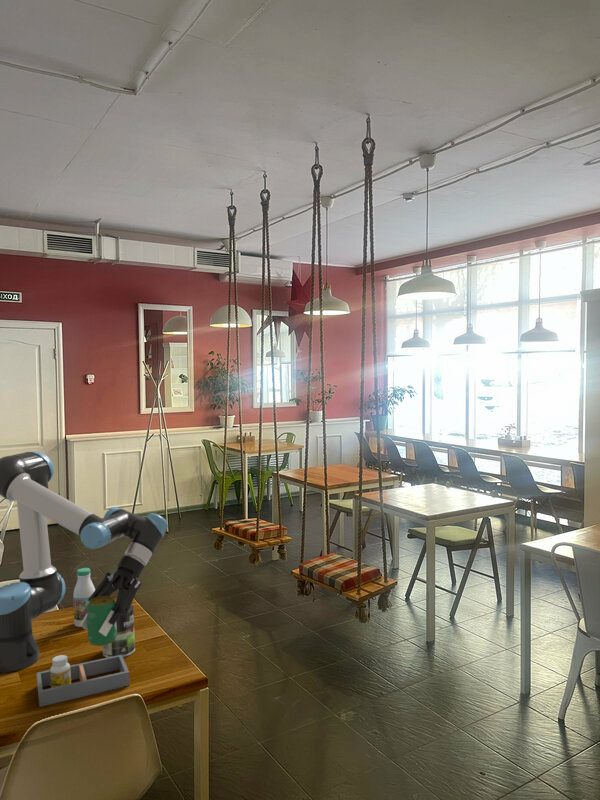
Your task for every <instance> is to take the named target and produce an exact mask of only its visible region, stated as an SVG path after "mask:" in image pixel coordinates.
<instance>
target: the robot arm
mask: <svg viewBox="0 0 600 800" xmlns="http://www.w3.org/2000/svg"><path fill="white" fill-rule="evenodd" d="M54 473H55V468H54V464H53V462H52V460H51V459H50V457H49V456H47V455H46V454H45V453H43V452H40V451H26V452H21V453H16V454H12V455H6V456H2V457H0V497H3V498H4V499H5V500H8V501H9V502H15V501H16V507H17V517H18V525H19V536H20V546H21V547H20V548H21V556H22V557H21V558H22V566H23V570H22V572H20V574H19V577H18V578H19V582H17V581H16V582H12V583H10V584H4V585H3V586H1V587H0V673H10V672H16V671H20V670H22V669H25V668H27V667H29V666H32V665H34V664H35V663H36V662H37V661H38V660H39V659H40V648H39V645H38V644H37V641H36V638H35V636H34V634H33V633H34V632H33V620H34V619H36V618H38V617H39V616H41V615H43V614H44V613H47V612H48V611H50V610H52V609H54V608H55V607H56V606H57V605H59V604H60V603H61V602H62V601H63V599H64V597H65V594H66V583H65V580H64V577H62V575H61V574H59V572H57V568H56V567H55V566H54V565H52V561H51V550H50V540H49V539H50V538H49V533H48V532H49V531H48V520H47V519H49V520H51V521H53V522H54V523H56V524H58V525H60V526H61V527H63V528H65V529H67V530H69V531H71V532H72V533H74V534H76V535H78V536H80V540H81V543H82V544H83V545H84V547H86V548H87V549H90V550H97V549H99V548H101V547H104V546H106V545H108V544H110V543H112V542H114V541H116V540H117V539H120V538H122V537H124V538H128V539H130V540H132V541H131V542H130V544H129V546H128V547H127V548H126V550H125V551H124V555H123V556H122V557H121V559H120V560H119V562H118V563H117V570H116V571H115V572H114V573H110V572H109V571H108V572H106V574H105V575H104V578H103V579H102V580H101V582H100V584H98V586H97V587H96V588H95V591H94V592H93V594H92V595H91V596H90V598H89V599H88V601H90V600H91V599H93V598H95V597H99V596H111V595H112V594H113V593H114V592H117V591H118V593H117V596H116V600H115V602H116V604H115V608H113V609H112V610H114V611H112V610H111V612H110V613H109V615H108V617H107V618H106V620H105V622H104V623H103V625H102V627H101V628H100V630H99V632H100V633H101V634H102V635H104V636H107V634H108V632H109V630H110V629H111V627H112V625H114V624H115V622H116V621H117V619H118V617H119V615H121V614H127V612H128V610H129V608H130V606H131V605H132V603H133V601H134V599H135V596H136V594H137V592H138V590H139V589H140V587H141V586H142V583H141V582H140V581H139V580H138V579H137V578H139V577H140V576H141V575H142V573H143V571H144V569H145V566H147V564H148V562H149V560H150V559H151V557H152V555H153V554H154V552H155V551H156V549H157V547H158V546H159V544H160V542H161V540H162V538H163V537H164V535H165V533H166V531H167V529H168V526H169V524H168V521H167V520H166V519H165V518H164V517H163V516H161V515H159V514H157V513H153V512H151V513H148V515H146V517H143V516H140V515H137V514H135V513H133V512H130V511H128V510H126V509H125V508H120V507H117V506H112V507H110V508H109V509H108V510H106V512H105V514H104V516H103V517H100V516H98V515H97V514H95V513H92V512H91V511H90V510H87V509H85V508H83V507H82V506H80V505H78V504H76V503H75V502H73V501H70V500H69V499H67V498H65V497H63V496H61V495H60V494H58V493H57V492H54V491H53V490H51V489H49V482H50V481H51V480H52V478H53V476H54ZM124 607H125V608H124ZM80 626H81V627H83V628H82V629H84V630H87V631H88V621H87V612H86V614H85V617H84V619H83V620H82V622H81V623H80Z"/></svg>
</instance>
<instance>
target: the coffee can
mask: <svg viewBox="0 0 600 800" xmlns="http://www.w3.org/2000/svg"><path fill="white" fill-rule="evenodd" d="M124 608H125V607H124ZM116 625H117V636H116V638H115V641H113V642H112V643H110V644H107V645H102V655H103V657H105V658H108V657H113V656H117V655H122V656H123V658H125V657H126V658H127V657H128V656H131V655H132V654H133V653H134V652H135V651H136V646H135V645H136V640H135V606H134V605H133V604H131V606H130V608H129V610H128V612H127V614H121V615H119V617H118V619H117V621H116Z"/></svg>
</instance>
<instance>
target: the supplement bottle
mask: <svg viewBox="0 0 600 800" xmlns="http://www.w3.org/2000/svg"><path fill="white" fill-rule="evenodd" d="M51 660H52V666H51V667H50V669H49V670H50V676H51V685H50V688H54V687H58V686H62V685H67V684H71V683H72V680H71V669H70V666H71V665H70V663H69V662H68V661H69V660H68V656H67V655H66V654H63V655H62V654H60V655H56V656H54V657H53V658H52V659H51Z"/></svg>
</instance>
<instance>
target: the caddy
mask: <svg viewBox="0 0 600 800" xmlns="http://www.w3.org/2000/svg"><path fill="white" fill-rule="evenodd" d="M70 669H71V681H74V680H78V679H79V681H76V682H71V684H67V685H62V686H58V687H54V688H51V687H50V688H46V689H43V687H47V686H51V676H50V669H48V670H43V671H38V672H36V683H37V684H36V685H37V686H36V687H37V695H38V703H39V704H38V705H39V707H40V708H41V707H44V706H49V705H53V704H58V703H62V702H65V701H70V700H74V699H75V700H76V699H79V698H83V697H88V696H91V695H95V694H100V693H104V692H108V690H109V691H113V690H117V689H120V688H119V687H121V688H124V686H126V687H128V685H131V684H130V671H129V670H130V669H128V666H127V664H126V661H125V660H124V657H123V656H122V655H117V656H113V657H108V658H106V657H105V658H100V659H95V660H90V661H85V662H81V663H75V664H72V665H70ZM114 670H115V671H119V672H116V673H113V674H112V673H111V674H106V675H103V676H98V677H94V678H91V679H88V678H87V677H92V676H97V675H100V674H101V675H102V674H105V673H110V672H113V671H114ZM116 688H117V689H116ZM112 689H113V690H112Z"/></svg>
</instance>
